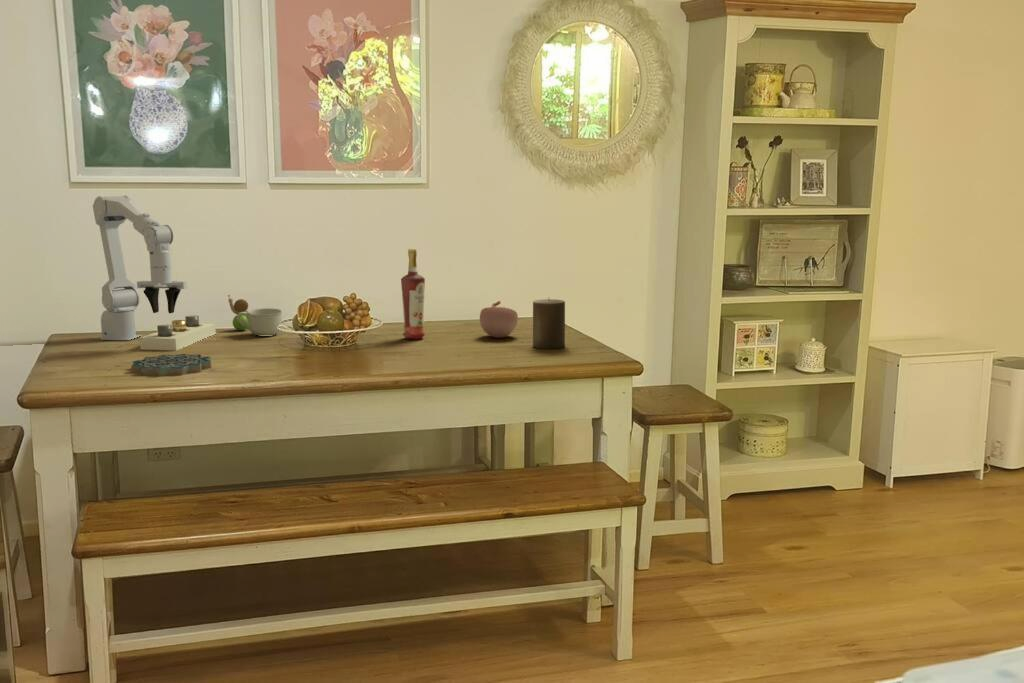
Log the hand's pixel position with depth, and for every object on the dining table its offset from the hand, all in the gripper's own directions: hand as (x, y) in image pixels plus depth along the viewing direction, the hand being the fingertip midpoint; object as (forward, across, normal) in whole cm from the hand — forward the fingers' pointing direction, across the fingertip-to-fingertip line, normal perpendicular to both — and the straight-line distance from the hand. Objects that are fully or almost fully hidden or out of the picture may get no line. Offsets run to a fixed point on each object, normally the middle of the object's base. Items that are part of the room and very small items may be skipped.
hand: (163, 312), depth 284 cm
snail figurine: (+11, +10, +31) cm, 34 cm away
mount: (+10, 0, +9) cm, 14 cm away
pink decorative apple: (+11, +96, +30) cm, 101 cm away
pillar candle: (+11, +113, +17) cm, 115 cm away
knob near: (+7, 0, 0) cm, 7 cm away
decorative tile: (+11, +16, -28) cm, 34 cm away
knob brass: (+7, 0, +9) cm, 11 cm away
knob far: (+7, 0, +18) cm, 19 cm away
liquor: (+11, +70, +24) cm, 75 cm away
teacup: (+11, +20, +24) cm, 33 cm away
